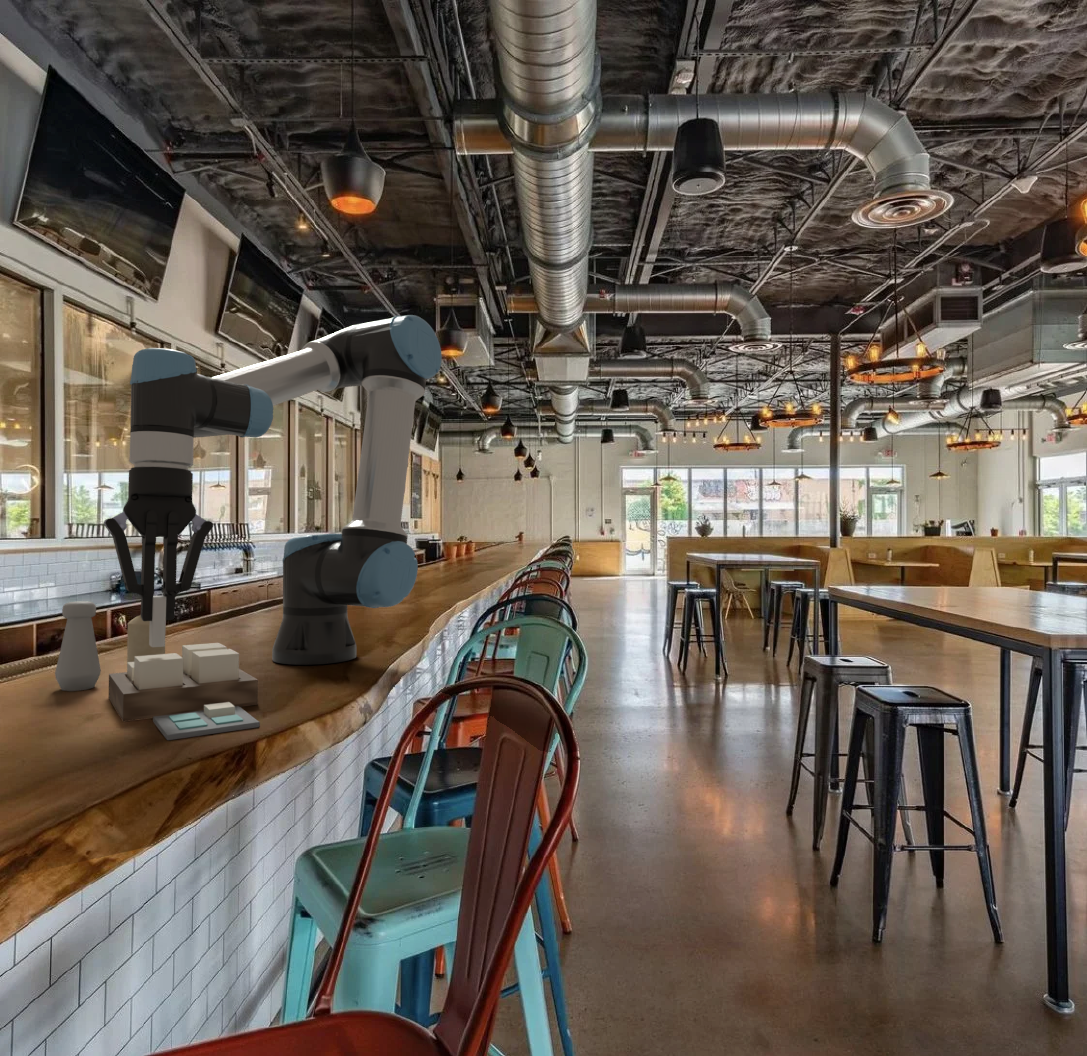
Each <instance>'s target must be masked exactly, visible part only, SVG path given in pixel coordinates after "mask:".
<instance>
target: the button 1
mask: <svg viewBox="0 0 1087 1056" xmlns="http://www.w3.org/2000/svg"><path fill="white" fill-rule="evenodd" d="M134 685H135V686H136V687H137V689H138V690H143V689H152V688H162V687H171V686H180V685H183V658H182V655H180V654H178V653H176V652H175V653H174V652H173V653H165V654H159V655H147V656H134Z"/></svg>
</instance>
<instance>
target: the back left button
mask: <svg viewBox="0 0 1087 1056" xmlns="http://www.w3.org/2000/svg"><path fill="white" fill-rule="evenodd" d="M221 649H228V646H225V644H222V643H220V642H212V643H211V642H210V643H199V644H186V645H185V644H184V645H181V657H182V658H183V672H184V673H185V674H187V675H192V652H196V651H208V650H221Z"/></svg>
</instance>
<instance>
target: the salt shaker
mask: <svg viewBox="0 0 1087 1056" xmlns="http://www.w3.org/2000/svg"><path fill="white" fill-rule="evenodd" d="M61 609H62V610H61V612H62V613H61V614H62V617H63V618H65V619H66V624H65V628H64V633H63V637H62V640H61V641H62V642H61V645H60V650H59V655H58V659H57V664H56V668H55V672H54V676H55V680H56V682H57V684H58V685H59V686H58V687H60V690H61V691H66V692H77V691H83V690H84V691H86V690H90V689H92V688H93V689H94V688H95V686H96V684H97V682H98V679H99V678H100V675H101V672H102V670H101V665H100V658H99V654H98V653H99V652H98V648H97V643H96V637H95V632H94V631H95V630H94V626H93V619H92V618H93V617H95V616H96V614H97V605H96V604H95V603H94V602H93V601H87V600H79V601H78V600H77V601H68V602H65V604H63V606H62V608H61Z"/></svg>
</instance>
